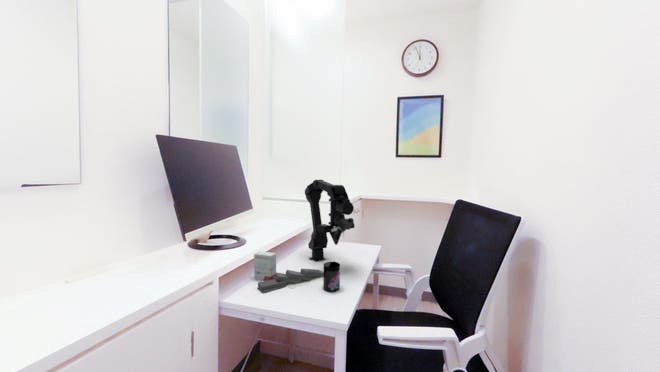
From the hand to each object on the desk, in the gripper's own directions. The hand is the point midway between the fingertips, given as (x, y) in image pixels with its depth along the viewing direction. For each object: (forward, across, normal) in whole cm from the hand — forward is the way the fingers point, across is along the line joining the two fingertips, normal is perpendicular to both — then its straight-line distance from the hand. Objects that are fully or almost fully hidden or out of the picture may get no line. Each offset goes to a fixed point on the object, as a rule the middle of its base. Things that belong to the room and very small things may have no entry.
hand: (336, 244), depth 135 cm
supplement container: (+13, -14, -14) cm, 24 cm away
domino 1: (+12, -28, +1) cm, 30 cm away
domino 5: (+12, -9, 0) cm, 15 cm away
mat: (+13, -15, 0) cm, 20 cm away
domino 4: (+12, -16, -1) cm, 20 cm away
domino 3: (+12, -21, 0) cm, 24 cm away
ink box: (+13, -31, +11) cm, 35 cm away
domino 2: (+13, -28, 0) cm, 31 cm away
